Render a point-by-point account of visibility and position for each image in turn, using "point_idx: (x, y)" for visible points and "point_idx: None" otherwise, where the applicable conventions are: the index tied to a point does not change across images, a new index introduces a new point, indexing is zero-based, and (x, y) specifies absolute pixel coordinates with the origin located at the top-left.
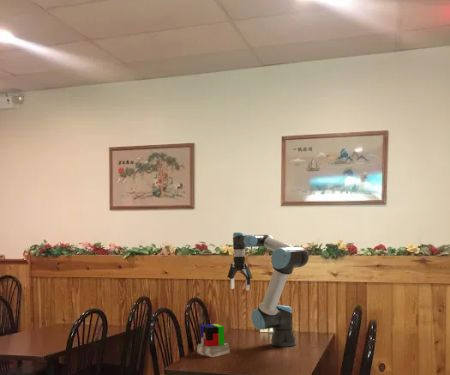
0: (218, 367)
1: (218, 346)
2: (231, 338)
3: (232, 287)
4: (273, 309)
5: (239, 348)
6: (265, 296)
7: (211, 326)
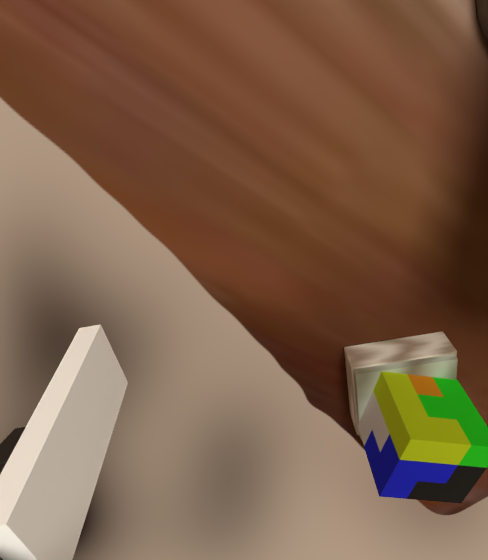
0: None
1: None
2: (176, 152)
3: (112, 381)
4: None
5: (414, 257)
6: None
7: (443, 479)
